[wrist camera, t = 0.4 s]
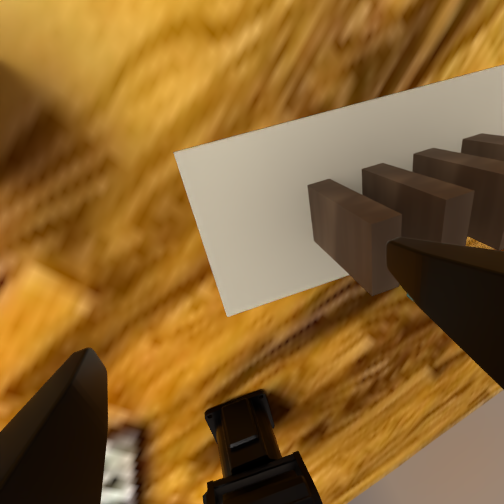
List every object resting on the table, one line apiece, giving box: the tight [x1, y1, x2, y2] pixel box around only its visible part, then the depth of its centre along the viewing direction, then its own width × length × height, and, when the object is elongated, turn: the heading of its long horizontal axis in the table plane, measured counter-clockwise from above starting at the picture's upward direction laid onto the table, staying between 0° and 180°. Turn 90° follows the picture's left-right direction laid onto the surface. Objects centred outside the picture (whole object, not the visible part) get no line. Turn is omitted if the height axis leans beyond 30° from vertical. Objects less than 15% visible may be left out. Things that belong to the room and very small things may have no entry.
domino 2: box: [362, 163, 475, 246], centre depth 21 cm, size 2×5×8 cm, turn 12°
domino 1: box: [307, 179, 402, 296], centre depth 21 cm, size 2×5×8 cm, turn 13°
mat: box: [174, 65, 504, 317], centre depth 25 cm, size 14×28×1 cm, turn 102°
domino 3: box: [412, 148, 504, 250], centre depth 22 cm, size 2×5×8 cm, turn 12°
